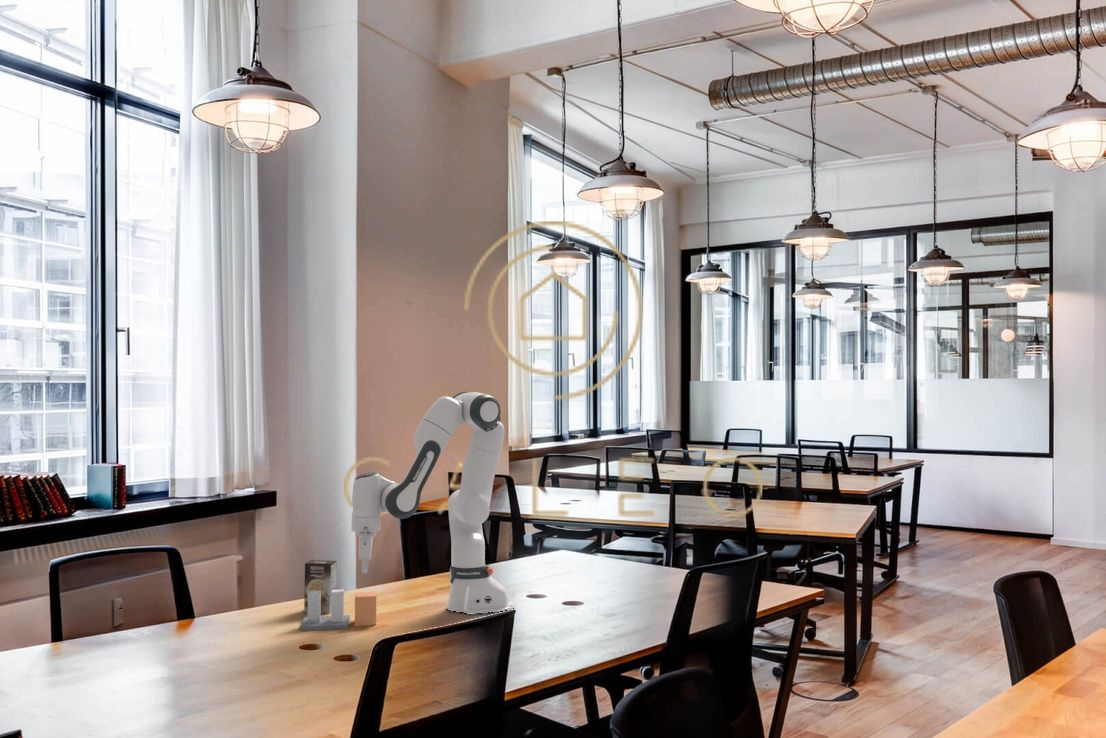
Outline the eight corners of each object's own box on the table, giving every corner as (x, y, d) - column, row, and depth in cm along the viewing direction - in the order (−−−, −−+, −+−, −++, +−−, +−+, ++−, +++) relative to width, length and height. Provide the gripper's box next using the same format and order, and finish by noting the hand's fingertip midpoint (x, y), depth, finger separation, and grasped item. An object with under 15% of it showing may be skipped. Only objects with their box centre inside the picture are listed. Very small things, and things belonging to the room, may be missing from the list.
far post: (320, 623, 277) (320, 590, 278) (319, 626, 274) (320, 592, 274) (308, 624, 277) (308, 590, 277) (307, 626, 273) (307, 593, 274)
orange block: (376, 619, 282) (376, 591, 282) (376, 624, 276) (376, 596, 276) (355, 620, 281) (355, 592, 281) (354, 625, 274) (354, 596, 275)
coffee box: (302, 612, 291) (303, 563, 292) (310, 608, 298) (310, 559, 298) (330, 613, 290) (330, 563, 291) (337, 608, 297) (337, 560, 297)
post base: (349, 618, 283) (350, 586, 283) (348, 628, 271) (348, 594, 272) (304, 620, 281) (304, 588, 281) (300, 630, 269) (300, 596, 269)
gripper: (376, 529, 269) (375, 576, 269) (376, 520, 290) (375, 563, 289) (354, 530, 268) (353, 576, 268) (356, 520, 288) (355, 564, 288)
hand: (364, 569), depth 279 cm, fingers open, 8 cm apart
